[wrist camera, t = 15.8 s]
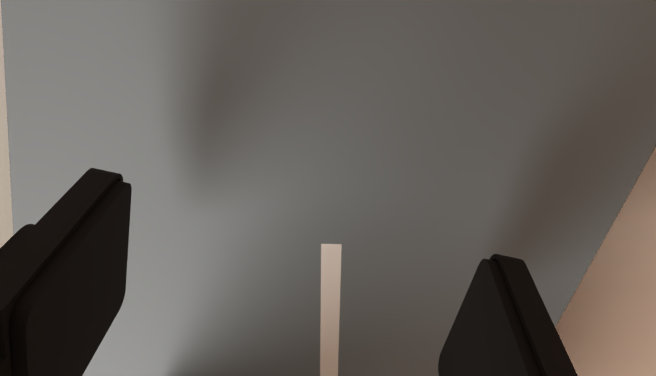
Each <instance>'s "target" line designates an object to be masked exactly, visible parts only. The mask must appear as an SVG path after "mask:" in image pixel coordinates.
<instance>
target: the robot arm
mask: <svg viewBox="0 0 656 376" xmlns="http://www.w3.org/2000/svg"><path fill="white" fill-rule="evenodd" d="M131 193H132V187H131V184H130V183H126V182H123V176H122V175H121V174H119V173H115V172H110V171H105V170H100V169H96V168H90V169H89V170H87V171H86V172H85V174H84V175H83V176H82V177H81V178H80V179H79V180H78V181H77V182H76V183H75V184H74V185H73V186H72V187H71V188H70V189H69V190H68V191H67V192H66V193H65V194H64V195H63V196H62V197H61V198H60V199H59V200H58V201H57V202H56V204H55V205H54V206H53V207H52V208H51V209H50V210H49V211H48V212H47V213H46V214H45V215H44V216H43V217H42V218H41V219H40V220H39V221H38V222H37V223H36V224H27V225H25V226H23V227H22V228H21V229H19V230H18V231H17V232H16V233H15V234H14V235H13V236H12V237H11V238H10V239H9V240H8V241H7V242H6V243H5V244H4V245H3V246H2V247H1V248H0V376H82V375H83V374H84V372H85V370H86V368H87V367H88V365H89V363H90V361H91V360H92V358H93V356H94V354H95V352H96V351H97V349H98V347H99V345H100V344H101V342H102V340H103V338H104V337H105V335H106V333H107V331H108V330H109V328H110V326H111V324H112V322H113V321H114V319H115V317H116V315H117V314H118V312H119V310H120V308H121V306H122V303H123V300H124V297H125V291H126V276H127V259H128V243H129V226H130V210H131ZM438 373H439V376H577V374H576V371H575V369H574V367H573V365H572V363H571V361H570V359H569V356H568V354H567V352H566V350H565V348H564V346H563V343H562V341H561V339H560V337H559V335H558V333H557V331H556V328H555V326H554V324H553V322H552V320H551V318H550V315H549V313H548V311H547V309H546V307H545V305H544V302H543V300H542V298H541V296H540V294H539V292H538V289H537V287H536V285H535V283H534V281H533V279H532V276H531V274H530V272H529V270H528V268H527V266H526V263H525V262H524V261H523V260H522V259H518V258H514V257H509V256H504V255H500V254H493V255H492V256H491V257H490V259H482V260H481V261H480V263H479V265H478V268H477V270H476V272H475V274H474V277H473V279H472V281H471V284H470V286H469V288H468V291H467V293H466V295H465V298H464V300H463V302H462V304H461V307H460V309H459V311H458V314H457V316H456V318H455V321H454V323H453V325H452V328H451V330H450V332H449V335H448V337H447V339H446V341H445V344H444V346H443V348H442V351H441V353H440V356H439V362H438Z"/></svg>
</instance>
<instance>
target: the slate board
mask: <svg viewBox="0 0 656 376" xmlns="http://www.w3.org/2000/svg"><path fill="white" fill-rule="evenodd" d="M1 9H2V28H3V47H4V65H5V84H6V103H7V122H8V140H9V159H10V178H11V197H12V215H13V234H15V233H16V232H17V231H18V230H19V229H21V228H22V227H23V226H25V225H27V224H36V223H37V222H38V221H39V220H40V219H41V218H42V217H43V216H44V215H45V214H46V213H47V212H48V211H49V210H50V209H51V208H52V207H53V206H54V205H55V204H56V202H57V201H58V200H59V199H60V198H61V197H62V196H63V195H64V194H65V193H66V192H67V191H68V190H69V189H70V188H71V187H72V186H73V185H74V184H75V183H76V182H77V181H78V180H79V179H80V178H81V177H82V176H83V175H84V174H85V172H86V171H87V170H89V169H90V168H96V169H100V170H105V171H110V172H115V173H119V174H121V175H122V176H123V182H126V183H130V184H131V187H132V193H131V210H130V226H129V243H128V259H127V276H126V291H125V297H124V300H123V303H122V306H121V308H120V310H119V312H118V314H117V315H116V317H115V319H114V321H113V322H112V324H111V326H110V328H109V330H108V331H107V333H106V335H105V337H104V338H103V340H102V342H101V344H100V345H99V347H98V349H97V351H96V352H95V354H94V356H93V358H92V360H91V361H90V363H89V365H88V367H87V368H86V370H85V372H84V374H83V375H82V376H439V373H438V362H439V356H440V353H441V351H442V348H443V346H444V344H445V341H446V339H447V337H448V335H449V332H450V330H451V328H452V325H453V323H454V321H455V318H456V316H457V314H458V311H459V309H460V307H461V304H462V302H463V300H464V298H465V295H466V293H467V291H468V288H469V286H470V284H471V281H472V279H473V277H474V274H475V272H476V270H477V268H478V265H479V263H480V261H481V260H482V259H490V257H491V256H492V255H493V254H500V255H504V256H509V257H514V258H518V259H522V260H523V261H524V262H525V263H526V266H527V268H528V270H529V272H530V274H531V276H532V279H533V281H534V283H535V285H536V287H537V289H538V292H539V294H540V296H541V298H542V300H543V302H544V305H545V307H546V309H547V311H548V313H549V315H550V318H551V320H552V322H553V324H554V326H555V327H556V325H557V323H558V321H559V320H560V318H561V316H562V314H563V312H564V311H565V309H566V307H567V305H568V303H569V302H570V300H571V298H572V296H573V294H574V293H575V291H576V289H577V287H578V285H579V284H580V282H581V280H582V278H583V276H584V275H585V273H586V271H587V269H588V267H589V266H590V264H591V262H592V260H593V258H594V257H595V255H596V253H597V251H598V249H599V248H600V246H601V244H602V242H603V240H604V239H605V237H606V235H607V233H608V231H609V230H610V228H611V226H612V224H613V222H614V221H615V219H616V217H617V215H618V213H619V212H620V210H621V208H622V206H623V204H624V203H625V201H626V199H627V197H628V195H629V194H630V192H631V190H632V188H633V186H634V185H635V183H636V181H637V179H638V177H639V176H640V174H641V172H642V170H643V168H644V167H645V165H646V163H647V161H648V159H649V158H650V156H651V154H652V152H653V150H654V149H655V147H656V0H1Z"/></svg>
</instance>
